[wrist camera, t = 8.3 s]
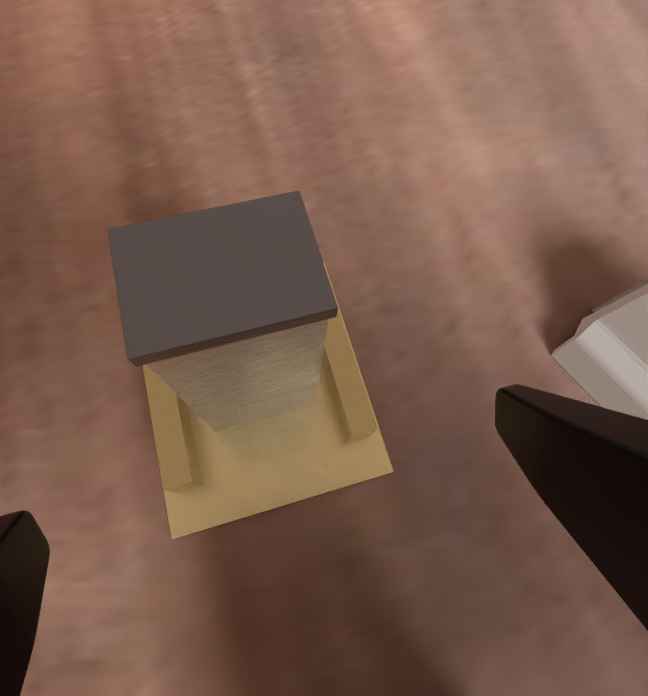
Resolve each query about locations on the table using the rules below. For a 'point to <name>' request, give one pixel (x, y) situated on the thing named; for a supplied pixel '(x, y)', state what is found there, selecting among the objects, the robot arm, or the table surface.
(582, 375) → the white rounded housing
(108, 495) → the table surface
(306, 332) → the bar
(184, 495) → the strike pocket
